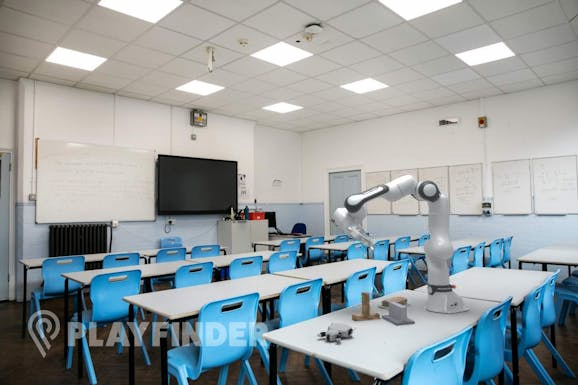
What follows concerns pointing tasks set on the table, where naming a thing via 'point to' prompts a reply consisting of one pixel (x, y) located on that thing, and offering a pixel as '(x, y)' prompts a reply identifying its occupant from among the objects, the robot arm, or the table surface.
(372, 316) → the wooden t-shaped block
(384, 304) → the packaged product
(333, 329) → the robot toy
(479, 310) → the table surface
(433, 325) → the table surface
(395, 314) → the ridge stand
